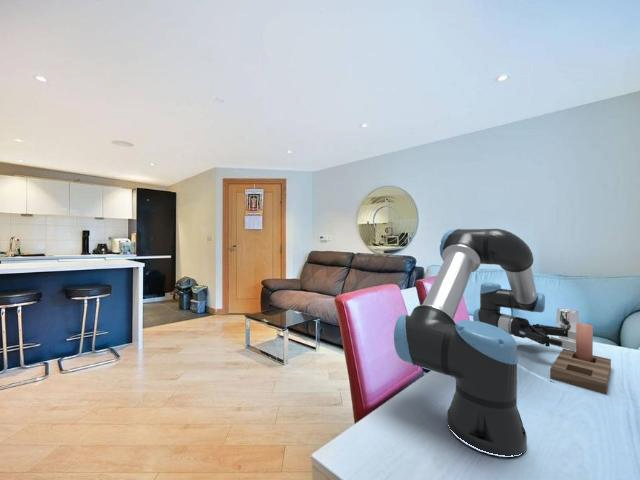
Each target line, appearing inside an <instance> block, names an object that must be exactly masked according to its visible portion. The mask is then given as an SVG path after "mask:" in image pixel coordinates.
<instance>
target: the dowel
mask: <svg viewBox="0 0 640 480" xmlns="http://www.w3.org/2000/svg"><path fill="white" fill-rule="evenodd" d="M593 331H594V325H591V324H588V323H583V322H579V323H576V359H579V360H584V361H588V362H593V352H594V350H593V345H594V342H593V341H594V339H593V338H594V336H593V335H594V333H593Z"/></svg>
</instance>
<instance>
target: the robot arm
mask: <svg viewBox="0 0 640 480" xmlns="http://www.w3.org/2000/svg"><path fill="white" fill-rule="evenodd" d="M439 254H440V258H441V259H442V264H441V266H440V268H439V270H438V272H437V274H436V276H435V278H434V280H433V282H432V285H431V286H430V289H429V290H428V292H427V295H426V297H425V299H424V300H423V302H422V304H419V305H416V306H415V307H414V308H413V310H412V311H411V314H410V315H407V314H400V316H398V318H397V320H396V322H395V324H394V325H395V326H394V330H393V345H394V349H395V352H396V356H397V357H399V359H400V360H402V361H404V362H406V363H409V364H411V365H413V366H417V367H421V368H424V369H427V370H429V371H430V370H431V371H433V372H436V373H439V374H441V375H442V374H443V375H446V376H448V377H449V376H450V377H452V378H455V391H454V393H453V397H452V400H451V402H450V406H449V408H448V409H447V413H446V417H447V418H446V423H447V422H448V425H449V427H450V429H451V430H452V431H453V432H454V433H455V434H456V435H457V436H458V437H459V438H461V439H462V440H464V441H465V442H467V443H468V444H470V445H472V446H474V447H476V448H478V449H480V450H483V451H486V452H489V453H493V454H498V455H505V456H511V455H513V456H514V455H519V454H521V453H523V452H524V451H525V450H526V451H527V447H528V446H527V445H528V444H527V443H528V437H527V431H526V429H525V427H524V423H523V420H522V417H521V414H520V410H519V409H518V404H517V403H518V402H517V401H518V395H517V393H518V391H517V390H518V388H517V387H518V386H517V385H518V383H517V382H518V363H519V357H518V347H517V342H516V340H515V338H514V337H513V336H515V337H516V338H520V339H521V338H522V339H526V338H527V339H529V340H531V341H533V342H536V343H537V344H539V345H543V346H544V345H545V347H547V348H548V347H550V345H551V346H555V347H558V348H562V349H567V350H572V351H576V342H573V341H569V340H565V339H561V338H559V336H562V337H568V338H570V339H574V340H576V332H574V331H570V330H569V329H570V328H560V327H557V326H551V325H544V324H539V323H536V324H530V321H529V320H528V319H527V318H525V317H524V318H523V317H520V316H515V315H510V314H506V313H503V312H501V308H505V309H512V310H519V311H525V312H531V313H543V312H545V307H546V296H545V294H544V293H542V292H541V293H540V292H537V289H536V283H535V279H534V274H533V270H532V266H533V263H534V255H533V252H532V250H531V248H530V246H529V245H528V244H527V243H526V242H525V241H524V240H523V239H522V238H520V236H517V235H516V234H515V233H513V232H510V231H508V230H506V229H500V228H457V229H449V230H447V231H446V232H444V233H443V235H442V237H441V239H440V245H439ZM481 265H498V266H500V268H502V269H503V270H504V272H505V275H506V278H507V281H508V285H509V287H510V289H506V288H502V286H501V284H499V283H494V282H482V283H481V284H480V290H479V291H480V292H479V302H480V303H479V308H476V309H475V310H474V312H473V315H472V320H469V319H462V320H459V321H457V322H456V321H455V316H456V313H457V311H458V308H459V306H460V303H461V300H462V298H463V295H464V293H465V291H466V288H467V285H468V282H469V281H470V278H471V274H472V273H474V272H476V271H477V270H478V269H479V268H480V266H481ZM564 331H565V333H564ZM448 425H447V426H448ZM526 451H525V452H526ZM525 452H524V453H525ZM524 453H523V454H524Z"/></svg>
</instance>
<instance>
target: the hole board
mask: <svg viewBox="0 0 640 480" xmlns="http://www.w3.org/2000/svg"><path fill="white" fill-rule="evenodd" d="M611 366H612V359H611V358H609V357H604V356H603V357H602V356H597V355H593V362H588V361H584V360H579V359H576V351H572V350H569V349H565V348H562V350H561V351H560V352H559V354H558V356H557V357H556V359H555V361H554V362H553V364H552V365H551V367H550V370H549V375H550V376H549V377H550V378H549V379H551V380H550V381H549V382H550V383H554V384H555V381H558V382H561V383H563V384H564V383H565V384H568V385H571V386H575V387H578V388H582V389H586V390H588V391H591V392H596V393H599V394H602V395H606V396H607V394H608V389H609V388H608V387H609V382H610V381H609V380H610V376H611V370H612V367H611ZM552 380H555V381H552Z"/></svg>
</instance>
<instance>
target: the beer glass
mask: <svg viewBox="0 0 640 480" xmlns="http://www.w3.org/2000/svg"><path fill="white" fill-rule="evenodd" d="M579 312H580V311H578V310H575V309H569V308H557V309H556V317H555V324H556V327H560V328H570V329H569V330H570V331H574V332H576V323H580V314H579ZM564 333H565V331H564ZM558 338H561V339H565V340H569V341H573V342H576V340H574V339H570V338H568V337H562V336H558Z"/></svg>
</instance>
